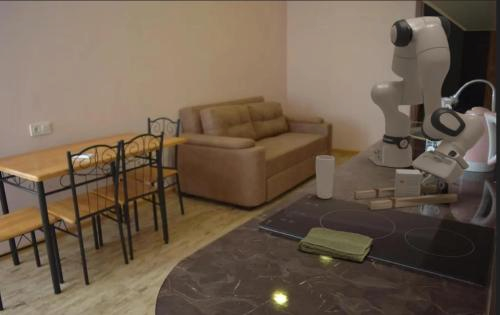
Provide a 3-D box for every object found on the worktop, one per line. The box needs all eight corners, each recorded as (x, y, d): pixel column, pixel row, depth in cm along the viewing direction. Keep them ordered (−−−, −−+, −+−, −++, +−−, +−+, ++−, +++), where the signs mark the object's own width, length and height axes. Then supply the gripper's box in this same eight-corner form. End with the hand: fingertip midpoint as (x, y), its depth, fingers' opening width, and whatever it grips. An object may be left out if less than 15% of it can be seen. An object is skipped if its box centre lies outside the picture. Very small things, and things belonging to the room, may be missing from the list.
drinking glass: (333, 200, 142) (335, 159, 139) (314, 199, 144) (315, 159, 140) (333, 194, 149) (334, 155, 145) (315, 193, 150) (316, 155, 146)
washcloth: (364, 266, 97) (365, 254, 96) (296, 252, 105) (296, 241, 104) (373, 244, 108) (374, 233, 108) (311, 233, 116) (311, 223, 116)
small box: (417, 197, 143) (419, 169, 140) (419, 203, 137) (422, 173, 135) (393, 196, 145) (395, 168, 142) (395, 201, 139) (397, 172, 137)
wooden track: (354, 197, 145) (354, 189, 144) (432, 190, 150) (433, 182, 150) (371, 210, 132) (371, 201, 131) (456, 201, 138) (457, 192, 137)
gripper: (423, 144, 150) (398, 171, 150) (462, 155, 130) (433, 186, 130) (433, 154, 151) (408, 181, 152) (472, 167, 132) (444, 198, 132)
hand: (420, 184), depth 141 cm, fingers closed
